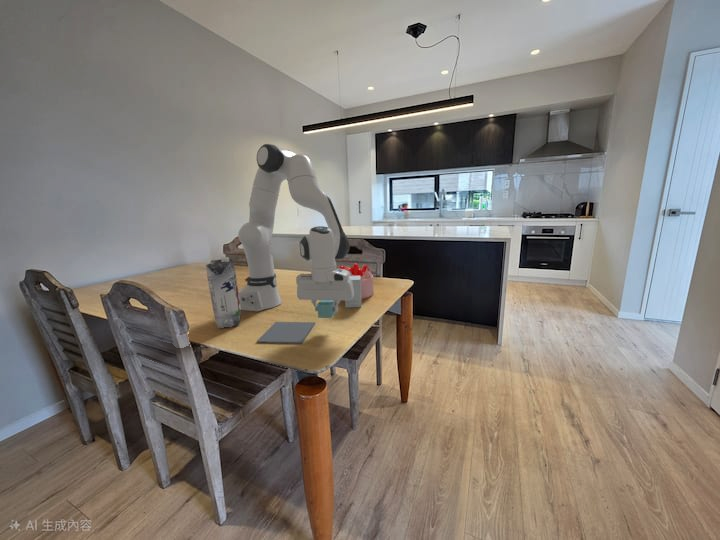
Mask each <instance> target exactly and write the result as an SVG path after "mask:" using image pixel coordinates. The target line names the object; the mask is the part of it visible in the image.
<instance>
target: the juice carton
mask: <svg viewBox="0 0 720 540" xmlns="http://www.w3.org/2000/svg"><path fill="white" fill-rule="evenodd" d="M205 267H206V278H207V282H208V288H209V289H208V290H209V294H210V295H209V296H210V300H211V305H212V310H213V318H214V321H215V324H216V326H217V329H219V328H222V329H225V328H224V327H229V328H233V327H232V326H236V327H238V326H239V323H240V321H241V318H242V317H241V316H242V310H241V305H240V299H239V288H238V281H237V274H236V267H235V265H234V261H233V258H230V257H228V256H222V257H221V256H220V259H212V260H210V263H207V264H206V265H205Z"/></svg>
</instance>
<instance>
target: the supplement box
mask: <svg viewBox="0 0 720 540" xmlns="http://www.w3.org/2000/svg"><path fill="white" fill-rule="evenodd" d="M349 278H350V279H351V280H352V283H353V289H354V297H353V299H352V300H350V301H349V300H344V304H345V305H344V307H345V308H361V307H362V300H363V299H361V276H349Z"/></svg>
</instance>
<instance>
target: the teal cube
mask: <svg viewBox="0 0 720 540" xmlns="http://www.w3.org/2000/svg"><path fill="white" fill-rule="evenodd" d="M333 306H336V303H335V300H319V302H317V308H318V311H317V318H318V319H333V317H334V316H335V314H336V312H333V308H332V307H333Z"/></svg>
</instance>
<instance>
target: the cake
mask: <svg viewBox="0 0 720 540" xmlns="http://www.w3.org/2000/svg"><path fill="white" fill-rule="evenodd" d="M338 268H341V269H344V270H347V271H349V272H350V276H361V300H365V299H367V298H370V297H372V296H373V295H374V289H375V287H374V275H373V274H372V272H371V270H370V268H369V266H368V265H365V263H363V264H362V266H361V267H360V266H359V264H358V263H354V264H353V266H351V267H350V266H349V265H346V266H344V265H340V266H339V267H338Z"/></svg>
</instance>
